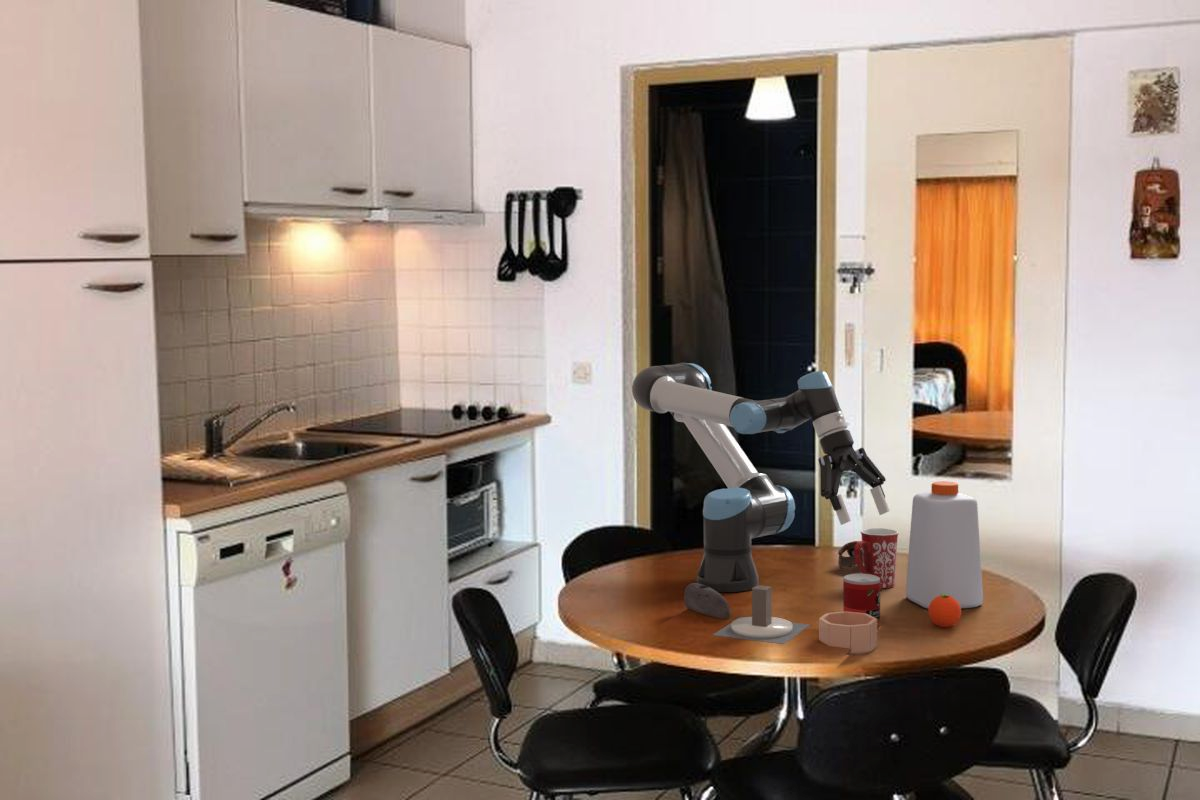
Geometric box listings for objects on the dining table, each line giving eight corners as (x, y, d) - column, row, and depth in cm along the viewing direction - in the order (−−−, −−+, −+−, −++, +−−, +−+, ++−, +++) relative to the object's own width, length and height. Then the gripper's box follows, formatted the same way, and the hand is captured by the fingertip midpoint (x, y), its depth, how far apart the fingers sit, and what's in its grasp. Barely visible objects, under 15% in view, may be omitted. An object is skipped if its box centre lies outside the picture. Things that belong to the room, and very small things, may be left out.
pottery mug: (884, 574, 350) (872, 548, 347) (851, 590, 350) (839, 565, 347) (870, 552, 361) (858, 527, 358) (838, 568, 361) (826, 544, 358)
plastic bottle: (928, 612, 310) (929, 490, 307) (899, 596, 324) (900, 479, 321) (989, 607, 313) (991, 486, 310) (957, 592, 328) (959, 476, 325)
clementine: (924, 621, 303) (924, 589, 302) (956, 620, 303) (956, 589, 302) (931, 631, 295) (932, 598, 294) (964, 630, 295) (964, 598, 294)
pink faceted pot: (813, 650, 282) (813, 622, 281) (830, 637, 292) (830, 609, 291) (866, 657, 277) (866, 628, 276) (881, 643, 287) (881, 615, 286)
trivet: (712, 641, 290) (712, 634, 290) (741, 623, 304) (741, 616, 304) (784, 650, 282) (784, 643, 282) (810, 631, 296) (810, 624, 296)
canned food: (872, 633, 294) (872, 583, 293) (837, 628, 298) (837, 579, 297) (885, 625, 300) (885, 575, 299) (851, 620, 305) (851, 571, 303)
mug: (879, 579, 342) (879, 526, 340) (906, 586, 334) (906, 531, 333) (841, 586, 335) (841, 532, 334) (868, 594, 327) (868, 538, 326)
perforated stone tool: (738, 624, 303) (737, 593, 302) (718, 628, 301) (717, 597, 300) (701, 609, 316) (701, 580, 316) (681, 613, 314) (681, 583, 313)
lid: (721, 633, 290) (721, 591, 289) (744, 619, 302) (744, 578, 301) (779, 641, 284) (779, 597, 283) (801, 625, 296) (801, 583, 295)
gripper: (807, 435, 316) (839, 522, 312) (879, 421, 332) (911, 504, 327) (786, 446, 322) (818, 531, 317) (858, 432, 337) (889, 514, 332)
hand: (865, 518), depth 322 cm, fingers open, 13 cm apart
